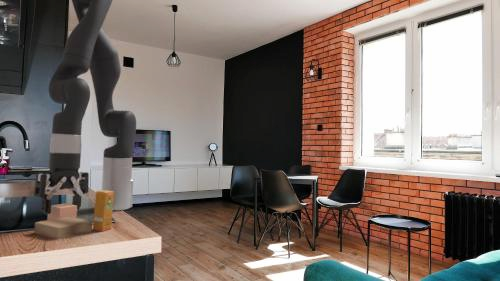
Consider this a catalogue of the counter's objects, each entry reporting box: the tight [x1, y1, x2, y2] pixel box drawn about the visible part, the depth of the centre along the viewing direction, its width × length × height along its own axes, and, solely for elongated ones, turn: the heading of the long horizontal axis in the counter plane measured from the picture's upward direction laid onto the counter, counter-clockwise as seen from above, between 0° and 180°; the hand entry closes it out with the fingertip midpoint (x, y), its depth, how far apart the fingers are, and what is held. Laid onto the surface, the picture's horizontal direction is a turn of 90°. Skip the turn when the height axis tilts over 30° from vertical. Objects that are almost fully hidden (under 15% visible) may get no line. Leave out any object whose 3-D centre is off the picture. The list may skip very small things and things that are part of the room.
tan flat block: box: [34, 216, 93, 240], centre depth 87 cm, size 9×9×3 cm
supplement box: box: [92, 190, 114, 232], centre depth 91 cm, size 3×3×10 cm
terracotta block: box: [46, 203, 78, 220], centre depth 95 cm, size 5×5×5 cm
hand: (61, 211), depth 94 cm, fingers open, 8 cm apart
